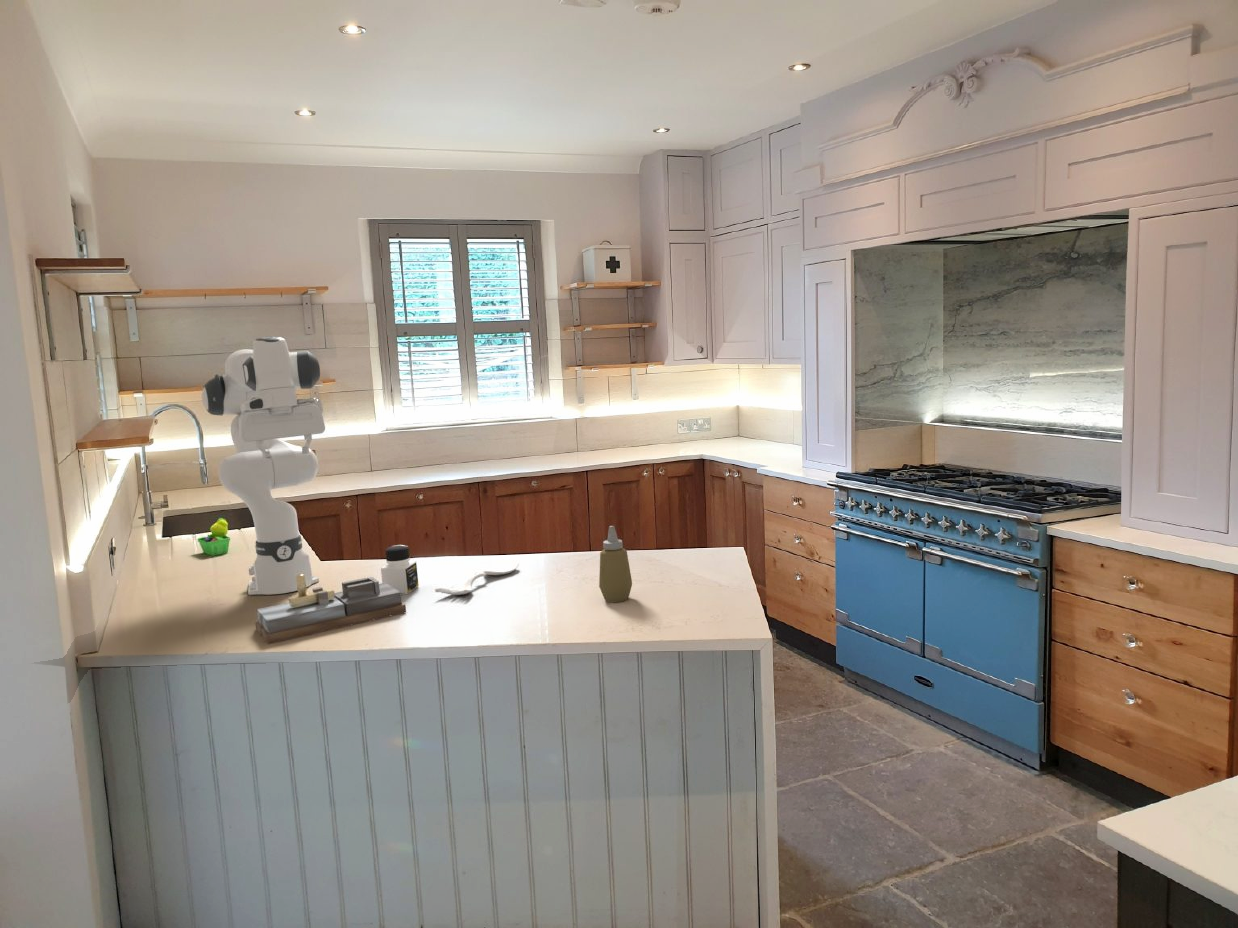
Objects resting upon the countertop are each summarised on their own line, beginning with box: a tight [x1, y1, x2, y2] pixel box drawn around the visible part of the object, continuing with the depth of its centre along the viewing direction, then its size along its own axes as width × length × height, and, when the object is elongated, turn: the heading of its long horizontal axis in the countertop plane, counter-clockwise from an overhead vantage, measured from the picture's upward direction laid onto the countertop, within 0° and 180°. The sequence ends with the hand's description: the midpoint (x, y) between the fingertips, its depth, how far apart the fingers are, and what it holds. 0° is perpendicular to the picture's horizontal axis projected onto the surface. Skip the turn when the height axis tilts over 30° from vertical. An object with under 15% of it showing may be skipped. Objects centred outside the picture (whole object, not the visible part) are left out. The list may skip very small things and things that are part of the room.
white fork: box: [434, 559, 520, 596], centre depth 240 cm, size 9×32×4 cm, turn 158°
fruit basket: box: [197, 517, 231, 557], centre depth 303 cm, size 11×9×11 cm
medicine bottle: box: [380, 544, 420, 595], centre depth 237 cm, size 7×7×12 cm
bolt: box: [288, 574, 335, 607], centre depth 212 cm, size 2×10×7 cm, turn 123°
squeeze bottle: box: [598, 525, 633, 603], centre depth 215 cm, size 8×8×18 cm
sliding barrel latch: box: [254, 576, 407, 644], centre depth 214 cm, size 14×32×8 cm, turn 123°
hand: (286, 456), depth 224 cm, fingers open, 8 cm apart
